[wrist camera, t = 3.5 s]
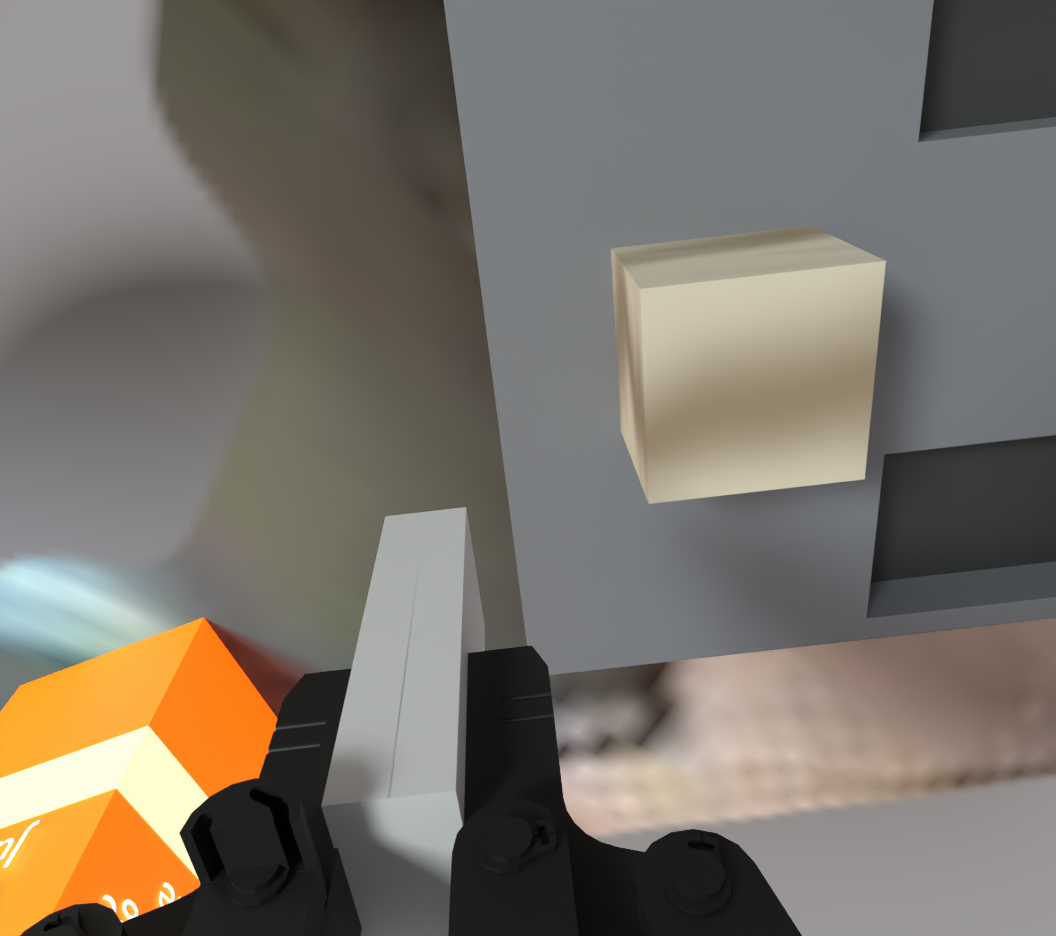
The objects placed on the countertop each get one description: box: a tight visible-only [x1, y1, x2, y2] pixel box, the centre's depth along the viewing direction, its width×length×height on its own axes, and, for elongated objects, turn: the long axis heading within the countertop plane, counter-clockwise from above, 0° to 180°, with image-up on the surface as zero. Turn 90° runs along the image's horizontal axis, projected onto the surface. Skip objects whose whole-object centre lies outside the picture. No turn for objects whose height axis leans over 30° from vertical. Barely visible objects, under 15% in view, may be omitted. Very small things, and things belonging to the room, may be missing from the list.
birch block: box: [611, 226, 886, 504], centre depth 23 cm, size 6×6×5 cm
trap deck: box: [444, 0, 1056, 675], centre depth 25 cm, size 26×36×4 cm
